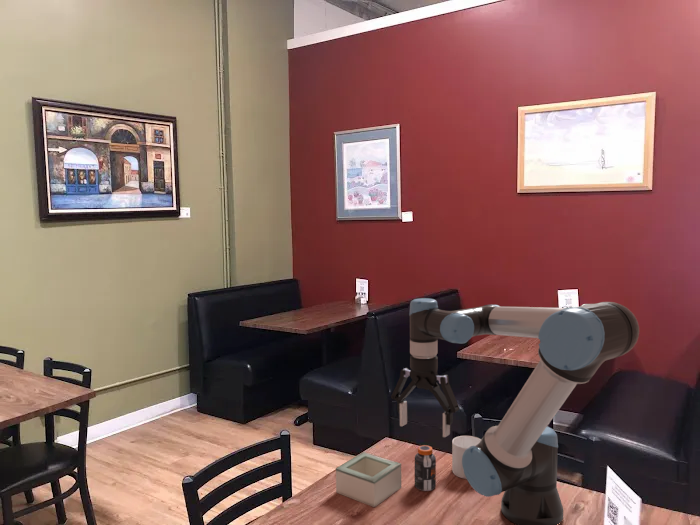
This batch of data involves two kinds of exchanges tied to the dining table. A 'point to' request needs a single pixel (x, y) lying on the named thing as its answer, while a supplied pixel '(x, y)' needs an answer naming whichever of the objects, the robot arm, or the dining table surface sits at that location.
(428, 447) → the pill bottle
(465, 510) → the dining table surface
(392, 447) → the dining table surface
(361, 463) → the box
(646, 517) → the dining table surface
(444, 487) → the dining table surface
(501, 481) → the robot arm
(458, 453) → the mug
